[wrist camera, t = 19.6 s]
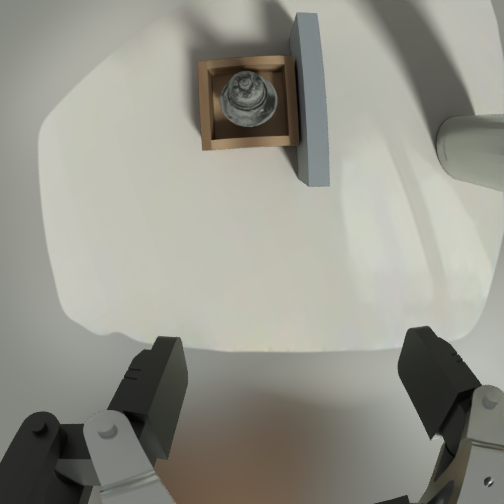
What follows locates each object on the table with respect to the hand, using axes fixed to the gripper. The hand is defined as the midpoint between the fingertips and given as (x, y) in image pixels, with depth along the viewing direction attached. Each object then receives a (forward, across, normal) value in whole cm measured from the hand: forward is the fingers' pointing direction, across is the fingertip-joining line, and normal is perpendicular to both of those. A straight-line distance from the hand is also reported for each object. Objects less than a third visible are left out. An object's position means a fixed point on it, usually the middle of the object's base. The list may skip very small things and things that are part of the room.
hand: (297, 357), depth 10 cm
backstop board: (+28, -4, -12) cm, 31 cm away
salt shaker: (+27, +2, -12) cm, 30 cm away
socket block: (+28, +2, -12) cm, 30 cm away
